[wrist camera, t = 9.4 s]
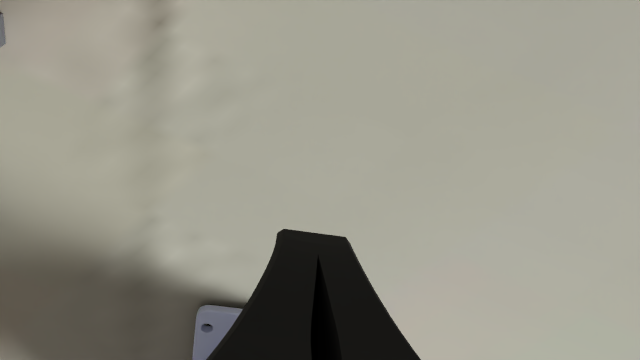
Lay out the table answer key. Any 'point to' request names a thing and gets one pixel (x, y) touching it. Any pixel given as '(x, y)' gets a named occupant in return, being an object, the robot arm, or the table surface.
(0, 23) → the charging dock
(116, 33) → the table surface
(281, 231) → the robot arm
